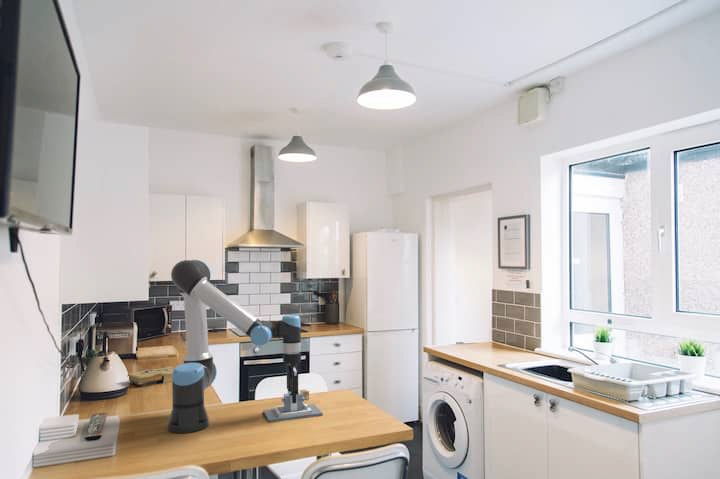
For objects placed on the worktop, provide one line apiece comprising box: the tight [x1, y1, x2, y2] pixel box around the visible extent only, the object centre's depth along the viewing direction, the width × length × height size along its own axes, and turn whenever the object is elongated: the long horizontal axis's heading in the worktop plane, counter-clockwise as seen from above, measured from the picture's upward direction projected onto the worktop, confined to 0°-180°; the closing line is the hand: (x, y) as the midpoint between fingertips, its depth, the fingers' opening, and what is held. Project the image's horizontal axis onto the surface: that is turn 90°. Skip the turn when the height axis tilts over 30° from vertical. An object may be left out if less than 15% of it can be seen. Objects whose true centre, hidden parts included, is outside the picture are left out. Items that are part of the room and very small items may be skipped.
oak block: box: [298, 389, 310, 402], centre depth 227 cm, size 4×4×4 cm
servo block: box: [280, 390, 305, 412], centre depth 206 cm, size 9×4×7 cm, turn 110°
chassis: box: [262, 402, 324, 423], centre depth 206 cm, size 22×14×2 cm, turn 110°
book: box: [127, 365, 176, 388], centre depth 266 cm, size 25×17×6 cm, turn 136°
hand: (292, 408), depth 206 cm, fingers closed on servo block, 4 cm apart
